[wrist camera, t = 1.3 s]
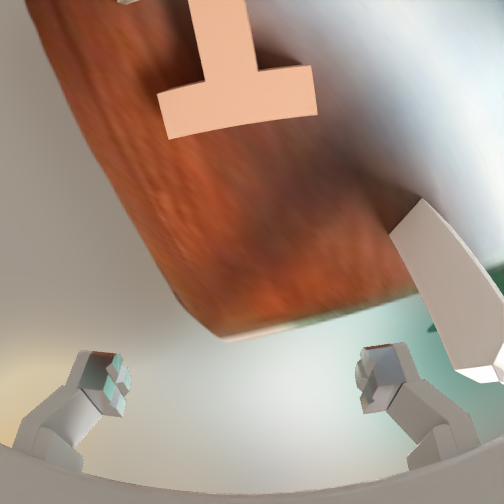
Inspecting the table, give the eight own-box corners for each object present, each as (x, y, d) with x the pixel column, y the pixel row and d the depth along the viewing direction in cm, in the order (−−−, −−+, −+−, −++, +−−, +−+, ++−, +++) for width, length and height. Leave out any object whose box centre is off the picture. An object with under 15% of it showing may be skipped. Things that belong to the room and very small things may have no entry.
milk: (421, 196, 31) (534, 351, 13) (449, 224, 33) (547, 368, 15) (387, 235, 34) (465, 405, 16) (417, 259, 36) (491, 413, 18)
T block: (288, -15, 20) (293, -28, 16) (309, 105, 27) (317, 114, 23) (156, 12, 22) (136, 6, 17) (182, 126, 28) (168, 139, 24)
